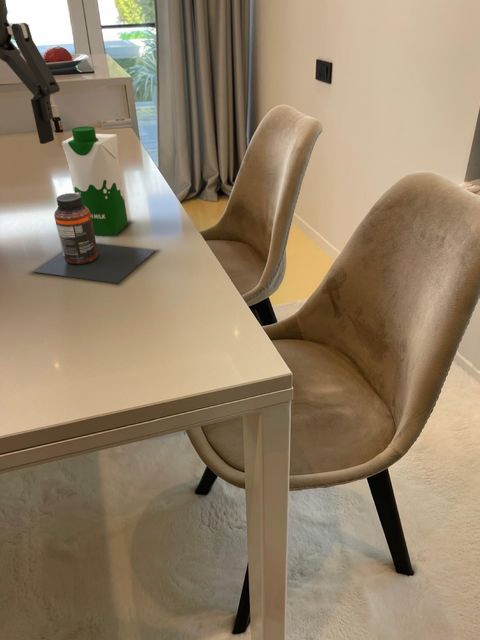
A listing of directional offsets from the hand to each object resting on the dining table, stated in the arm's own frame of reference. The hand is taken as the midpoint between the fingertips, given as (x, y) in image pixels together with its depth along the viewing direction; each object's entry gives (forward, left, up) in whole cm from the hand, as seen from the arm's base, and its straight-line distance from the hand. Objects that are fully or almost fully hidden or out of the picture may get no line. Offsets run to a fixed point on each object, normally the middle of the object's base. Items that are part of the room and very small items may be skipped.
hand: (11, 139), depth 91 cm
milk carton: (+5, +15, -21) cm, 26 cm away
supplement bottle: (+9, 0, -20) cm, 22 cm away
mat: (+12, 0, -21) cm, 24 cm away
